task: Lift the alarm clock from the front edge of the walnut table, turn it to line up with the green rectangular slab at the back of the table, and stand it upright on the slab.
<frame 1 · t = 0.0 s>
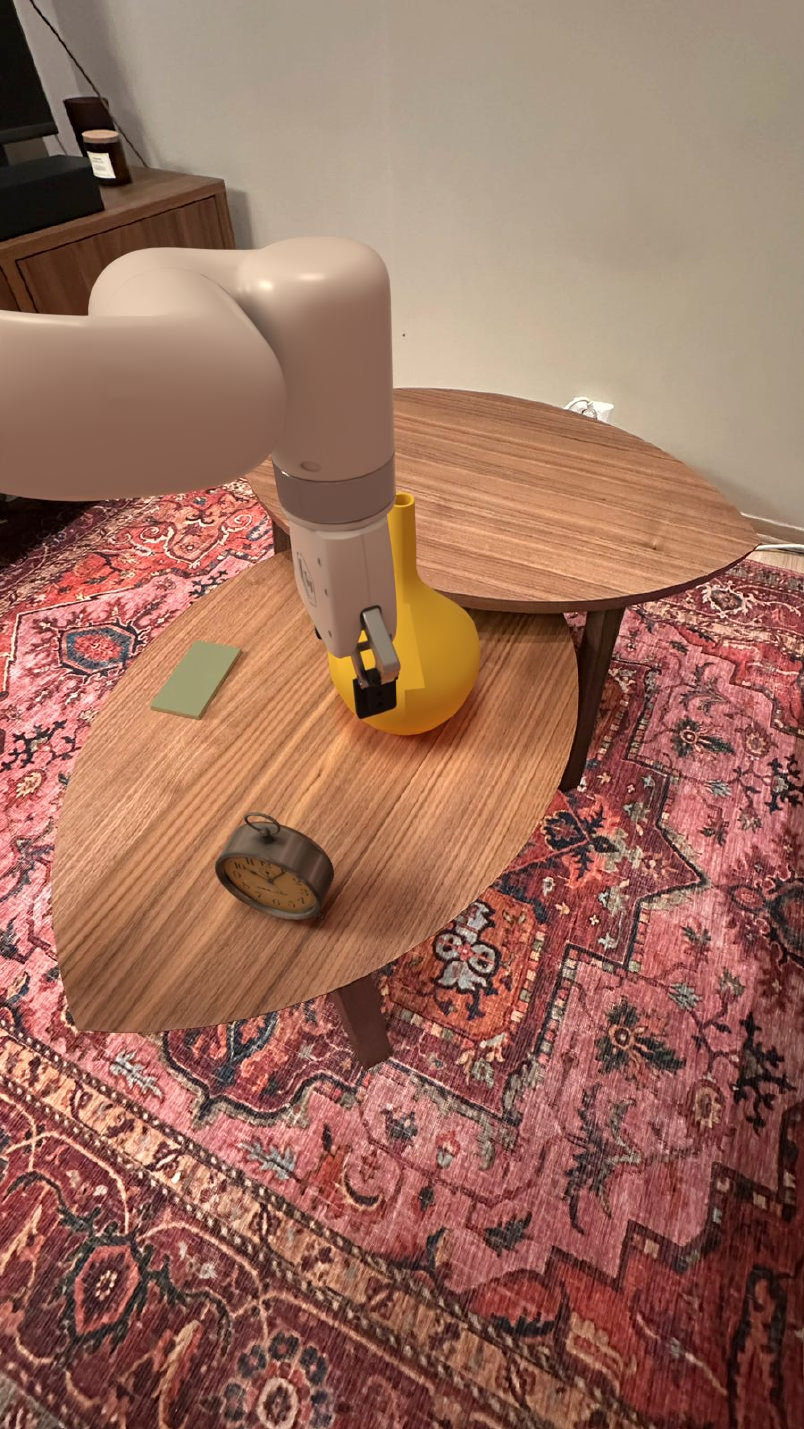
hand: (354, 670, 56), 27 cm above the table, tool pointing down, fingers open, 9 cm apart
green rectangular slab: (198, 679, 92), on the table
alarm clock: (287, 899, 71), on the table
vase: (405, 705, 89), on the table
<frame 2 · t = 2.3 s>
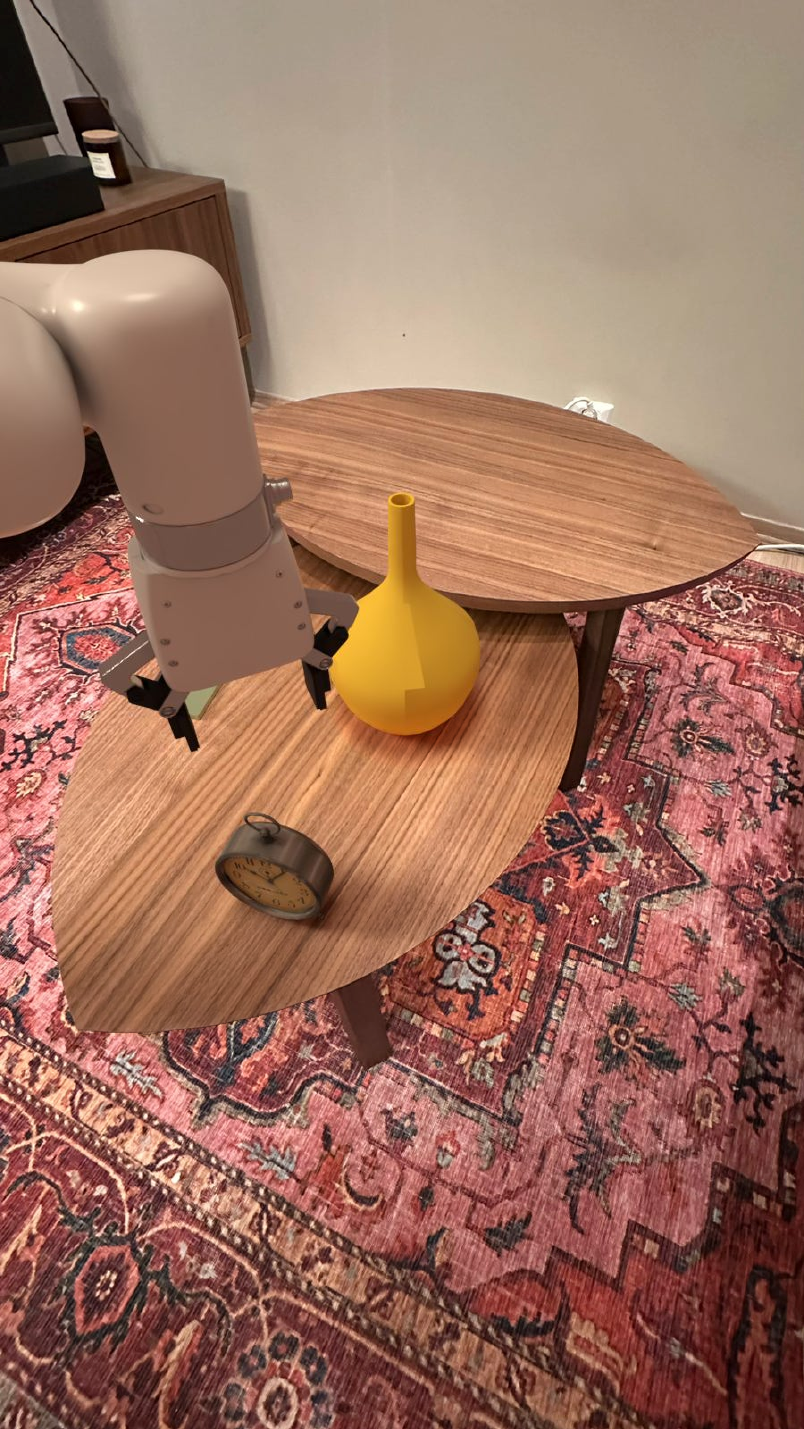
hand: (255, 717, 51), 28 cm above the table, tool pointing down, fingers open, 9 cm apart
nothing on the table moved.
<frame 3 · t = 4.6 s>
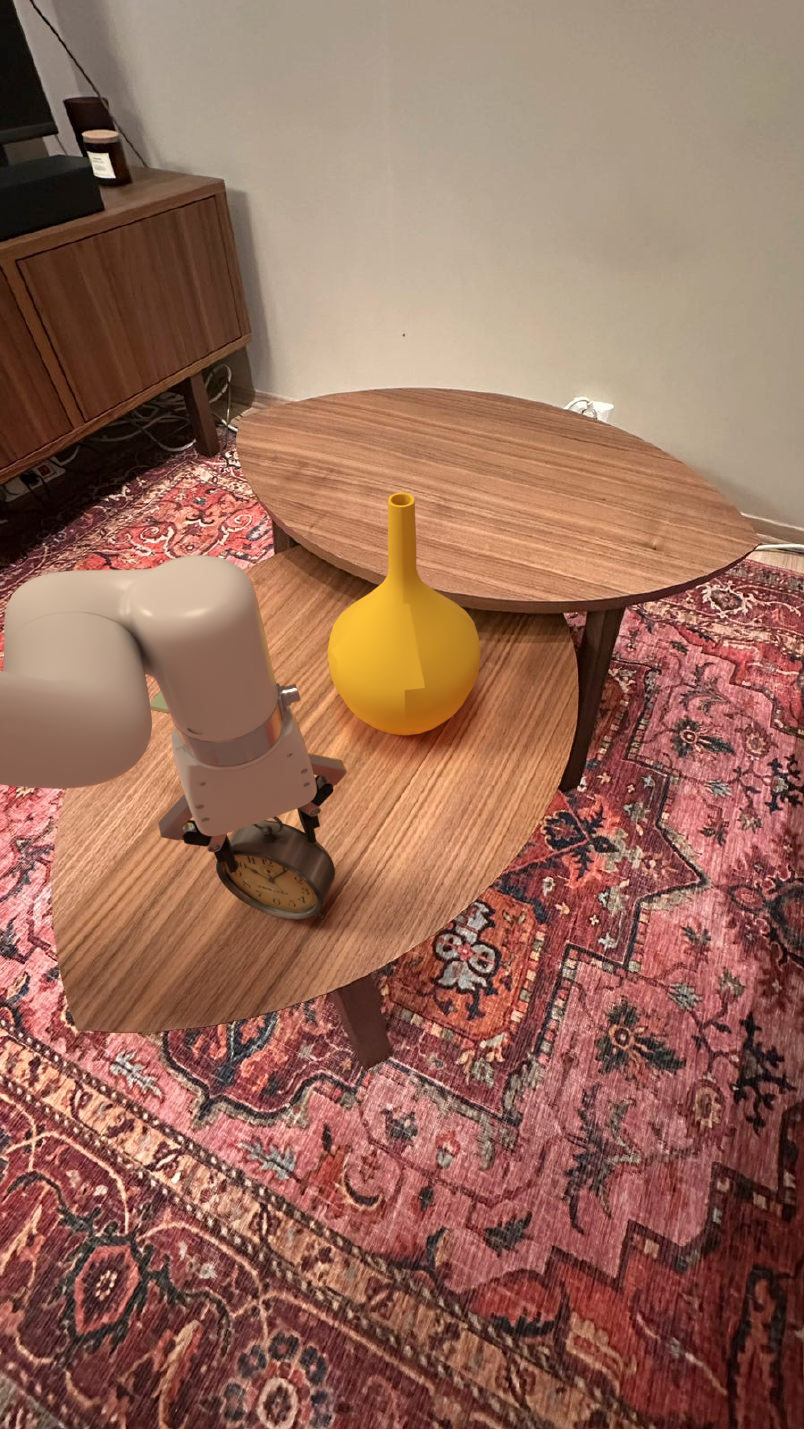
hand: (269, 843, 63), 11 cm above the table, tool pointing down, fingers closed on alarm clock, 6 cm apart
alarm clock: (287, 899, 71), on the table, touching gripper
everything else where it was.
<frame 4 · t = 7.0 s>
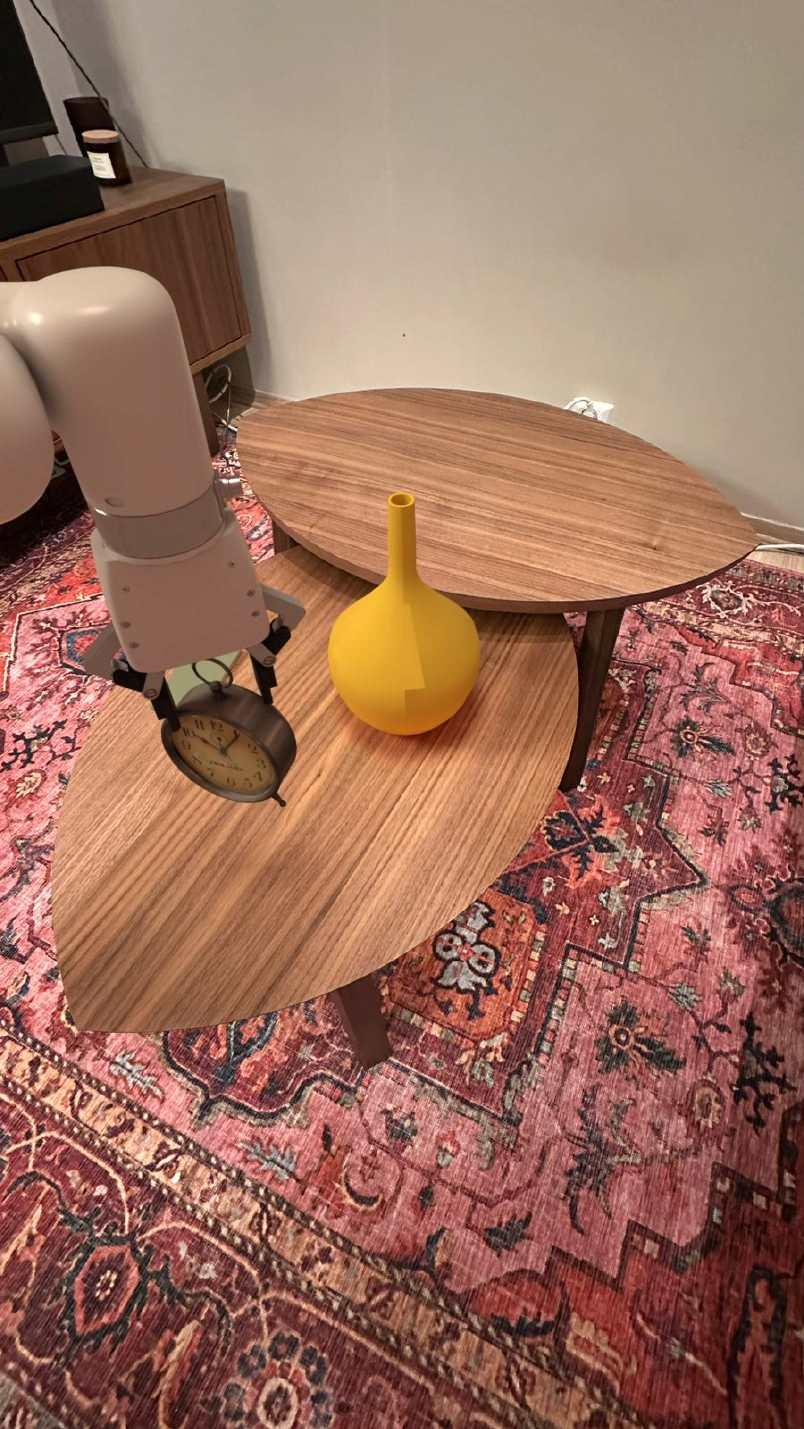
hand: (220, 704, 55), 25 cm above the table, tool pointing down, fingers closed on alarm clock, 6 cm apart
alarm clock: (245, 786, 63), point 14 cm above the table, touching gripper
everything else where it was.
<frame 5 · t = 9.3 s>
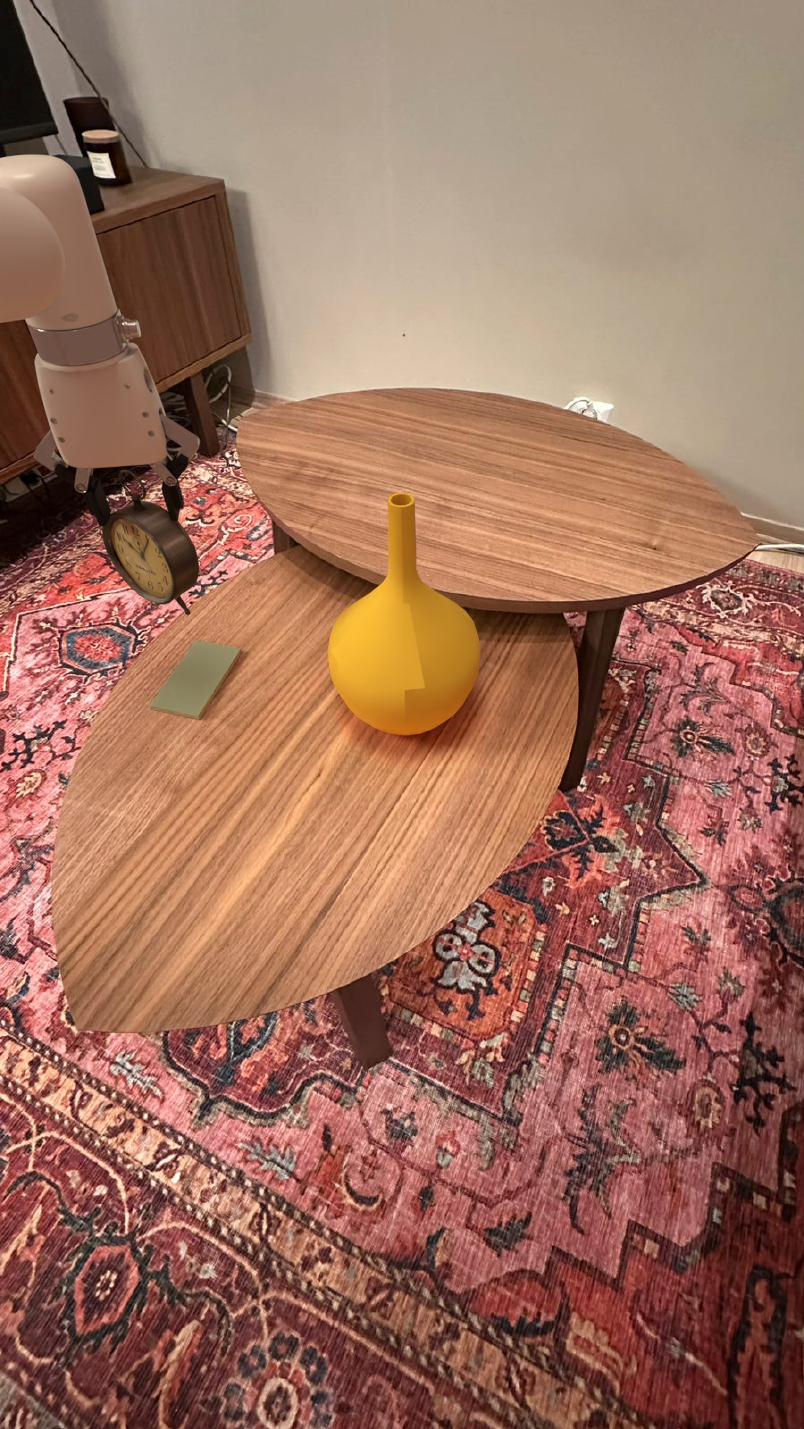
hand: (140, 515, 73), 25 cm above the table, tool pointing down, fingers closed on alarm clock, 6 cm apart
alarm clock: (168, 598, 82), point 14 cm above the table, touching gripper
everything else where it was.
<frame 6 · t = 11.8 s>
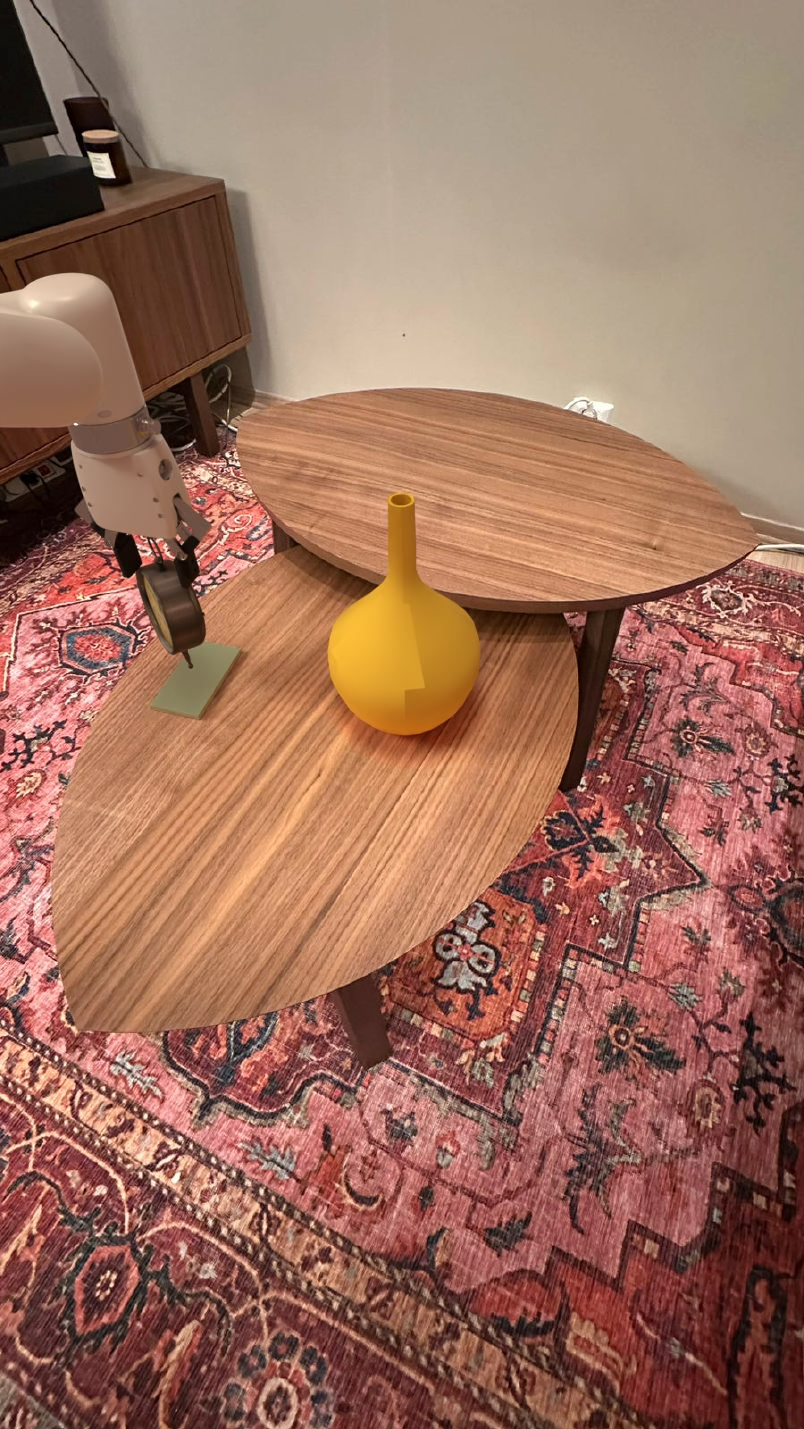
hand: (161, 575, 79), 18 cm above the table, tool pointing down, fingers closed on alarm clock, 6 cm apart
alarm clock: (186, 646, 88), point 6 cm above the table, touching gripper
everything else where it was.
when the fingers open (12 cm above the table, at t = 13.9 s): alarm clock stays where it is, resting on green rectangular slab.
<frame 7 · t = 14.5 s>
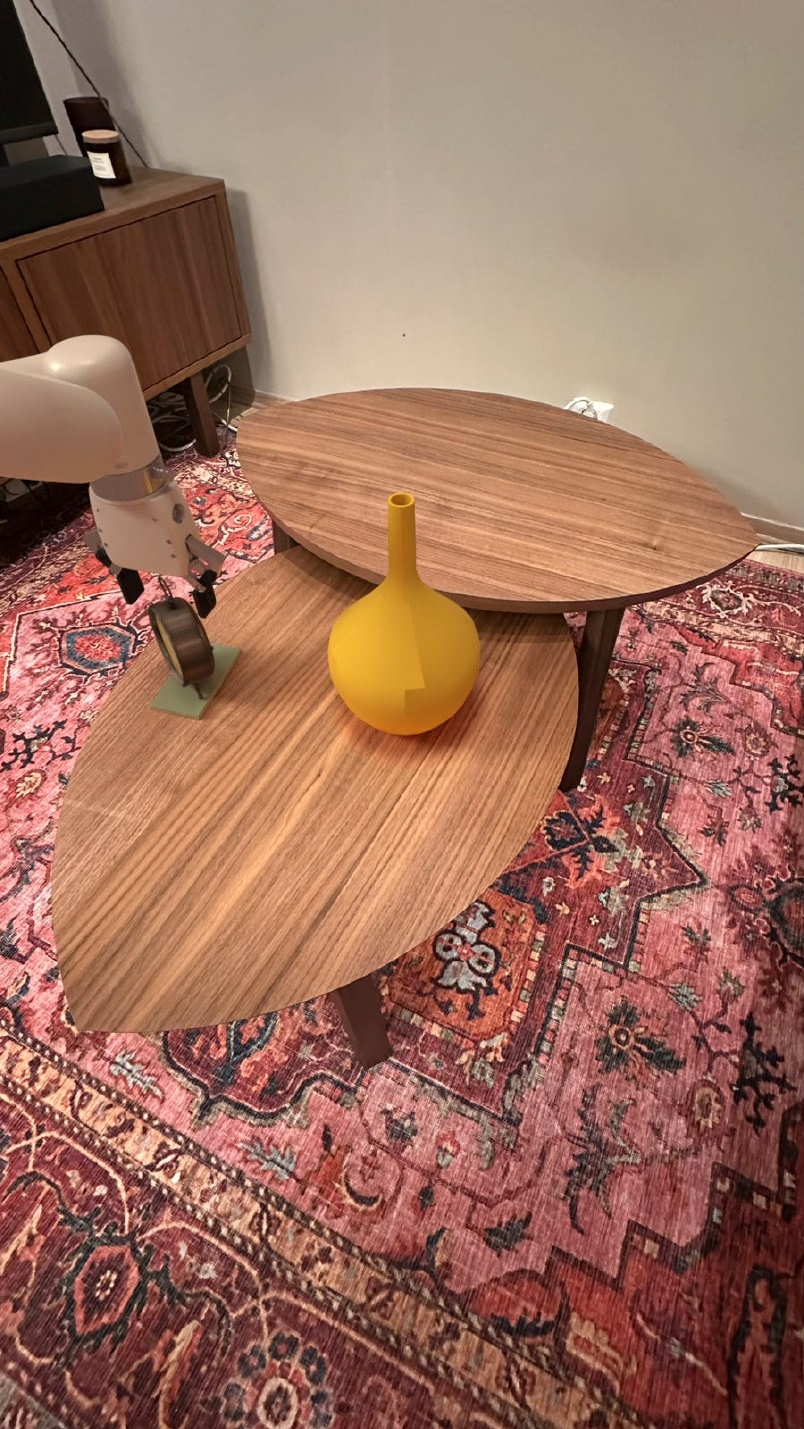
hand: (171, 604, 83), 13 cm above the table, tool pointing down, fingers open, 9 cm apart
alarm clock: (196, 677, 92), point 1 cm above the table, touching green rectangular slab
everything else where it was.
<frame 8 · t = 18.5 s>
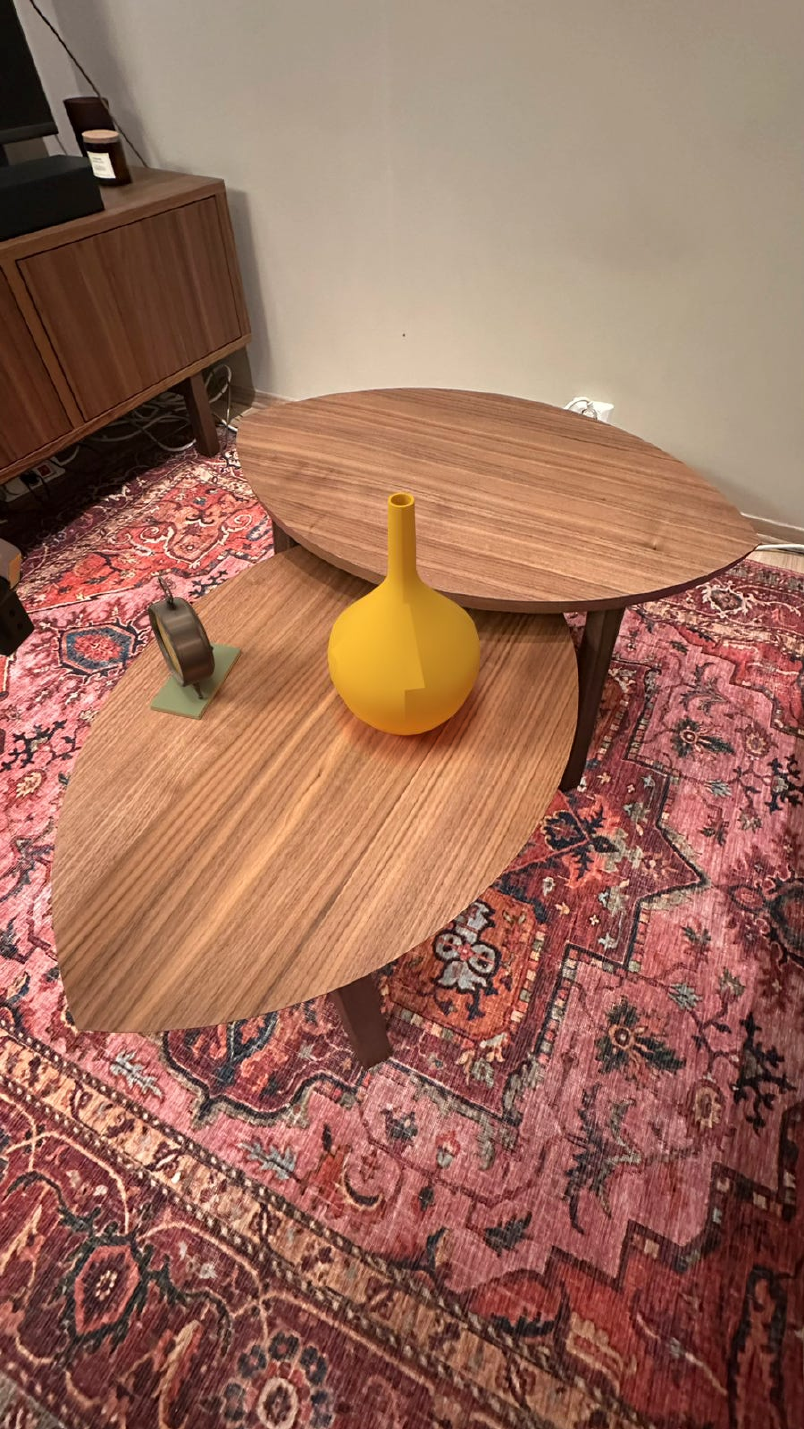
nothing on the table moved.
at the end: alarm clock tilted 0°; alarm clock inside the target area on the green rectangular slab (0.1 cm from its centre), point 0.6 cm above the green rectangular slab's base; the gripper is holding nothing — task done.
